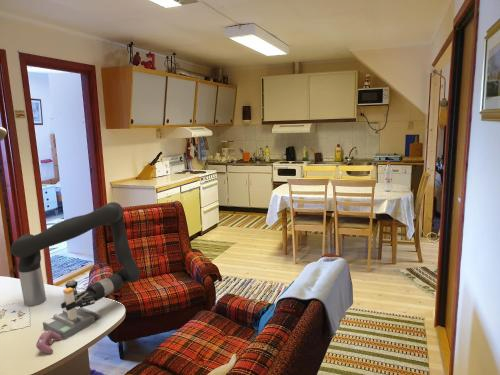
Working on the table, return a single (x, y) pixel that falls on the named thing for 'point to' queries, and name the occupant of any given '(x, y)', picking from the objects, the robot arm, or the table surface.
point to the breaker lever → (69, 299)
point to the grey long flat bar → (91, 313)
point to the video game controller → (47, 341)
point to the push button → (71, 285)
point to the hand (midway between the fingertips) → (64, 307)
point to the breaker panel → (68, 323)
